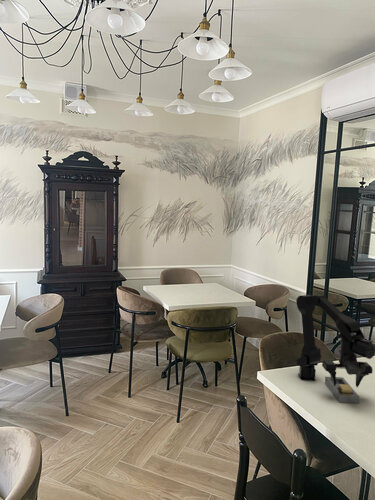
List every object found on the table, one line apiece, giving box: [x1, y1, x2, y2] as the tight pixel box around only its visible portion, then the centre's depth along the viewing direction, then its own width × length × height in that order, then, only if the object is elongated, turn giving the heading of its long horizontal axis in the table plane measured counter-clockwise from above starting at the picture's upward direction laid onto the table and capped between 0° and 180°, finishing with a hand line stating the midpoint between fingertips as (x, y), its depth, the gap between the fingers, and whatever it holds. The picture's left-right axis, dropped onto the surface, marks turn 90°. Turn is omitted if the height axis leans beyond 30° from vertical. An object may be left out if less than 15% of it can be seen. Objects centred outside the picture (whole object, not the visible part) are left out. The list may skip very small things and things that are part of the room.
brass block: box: [339, 384, 353, 394], centre depth 149 cm, size 4×4×5 cm
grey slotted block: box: [324, 376, 360, 405], centre depth 154 cm, size 8×18×3 cm, turn 176°
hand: (345, 386), depth 149 cm, fingers open, 9 cm apart
